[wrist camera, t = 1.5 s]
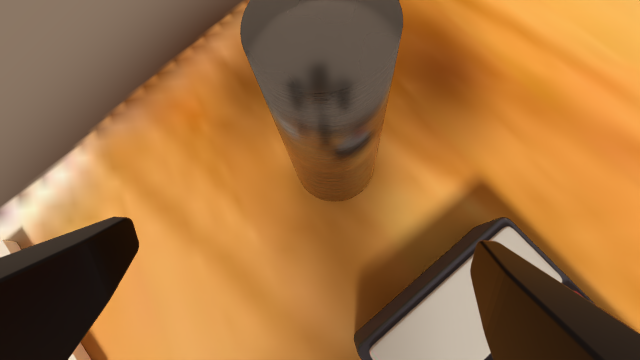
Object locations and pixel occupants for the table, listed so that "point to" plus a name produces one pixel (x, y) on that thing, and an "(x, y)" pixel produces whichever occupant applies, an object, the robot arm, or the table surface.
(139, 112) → the table surface
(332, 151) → the tin
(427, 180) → the table surface
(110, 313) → the table surface
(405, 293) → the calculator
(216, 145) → the table surface
